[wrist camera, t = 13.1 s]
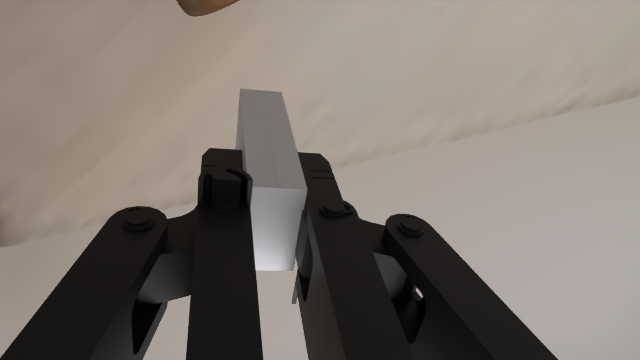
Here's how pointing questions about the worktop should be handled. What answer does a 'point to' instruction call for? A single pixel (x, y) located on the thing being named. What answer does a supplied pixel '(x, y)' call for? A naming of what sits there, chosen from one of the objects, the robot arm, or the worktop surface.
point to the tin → (203, 6)
